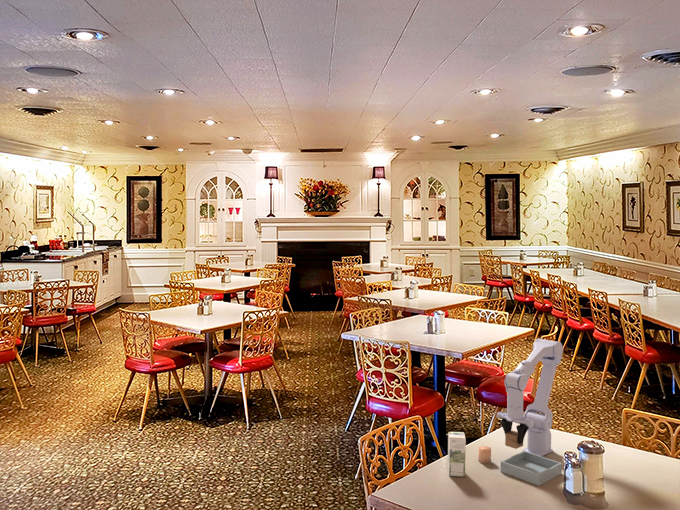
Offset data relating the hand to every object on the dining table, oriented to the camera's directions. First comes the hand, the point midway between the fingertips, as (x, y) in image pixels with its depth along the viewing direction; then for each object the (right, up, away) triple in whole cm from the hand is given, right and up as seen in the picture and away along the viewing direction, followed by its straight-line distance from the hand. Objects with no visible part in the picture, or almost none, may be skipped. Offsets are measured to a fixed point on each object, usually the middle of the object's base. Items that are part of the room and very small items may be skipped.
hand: (514, 441), depth 224 cm
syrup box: (-23, -9, -8) cm, 26 cm away
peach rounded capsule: (-10, -8, +3) cm, 14 cm away
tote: (+4, -9, -7) cm, 12 cm away
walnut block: (0, -2, 0) cm, 2 cm away
